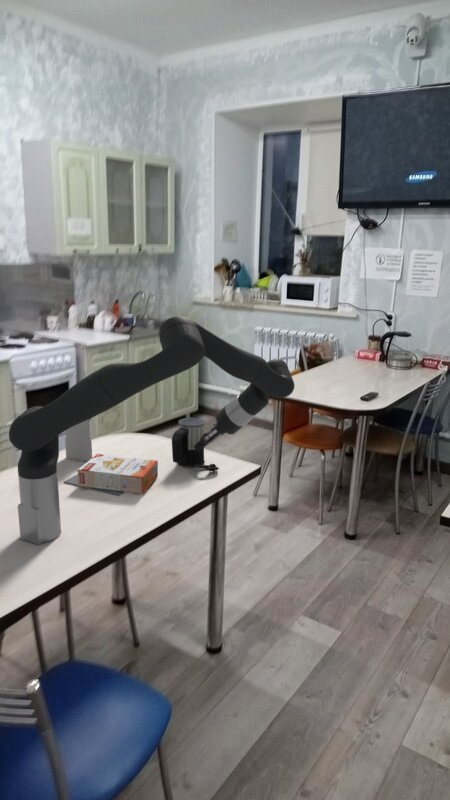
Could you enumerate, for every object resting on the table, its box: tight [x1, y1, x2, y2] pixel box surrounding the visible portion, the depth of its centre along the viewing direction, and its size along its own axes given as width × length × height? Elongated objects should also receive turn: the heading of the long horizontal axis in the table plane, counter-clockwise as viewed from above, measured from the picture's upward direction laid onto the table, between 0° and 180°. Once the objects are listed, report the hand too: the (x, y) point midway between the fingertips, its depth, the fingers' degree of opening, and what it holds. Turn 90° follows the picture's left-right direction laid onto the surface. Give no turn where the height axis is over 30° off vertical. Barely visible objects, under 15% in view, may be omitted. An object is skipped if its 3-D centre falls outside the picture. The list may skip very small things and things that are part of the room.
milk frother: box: [171, 417, 219, 473], centre depth 188 cm, size 14×16×15 cm
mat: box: [63, 473, 124, 497], centre depth 181 cm, size 22×20×1 cm
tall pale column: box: [64, 418, 93, 463], centre depth 190 cm, size 11×4×22 cm, turn 75°
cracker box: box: [77, 453, 159, 495], centre depth 175 cm, size 14×6×21 cm
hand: (196, 448), depth 164 cm, fingers closed
